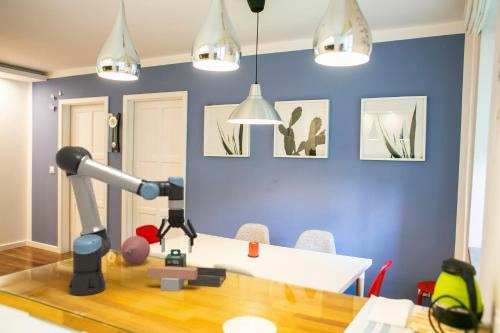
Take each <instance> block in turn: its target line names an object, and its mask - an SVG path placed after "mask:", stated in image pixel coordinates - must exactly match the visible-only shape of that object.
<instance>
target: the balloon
mask: <svg viewBox="0 0 500 333" xmlns="http://www.w3.org/2000/svg"><path fill="white" fill-rule="evenodd" d="M120 253H121V254H120V255H121V257H122V260H124V261H125V262H126V263H128V264H129V265H140V264H142V263H144V262H145V261H146V260H147V259H148V257H149V256H150V253H151V247H150V243H149V241H148V240H147V239H146V238H144V237H143V236H139V235H132V236H130V237H128V238H127V239H125V240H124V241H123V243H122V245H121V248H120Z"/></svg>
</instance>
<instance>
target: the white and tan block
mask: <svg viewBox="0 0 500 333" xmlns="http://www.w3.org/2000/svg"><path fill="white" fill-rule="evenodd" d="M184 286H185V280H184V279H174V278H160V291H163V292H165V291H166V292H179V291H181V289H182V288H183V287H184Z"/></svg>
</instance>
